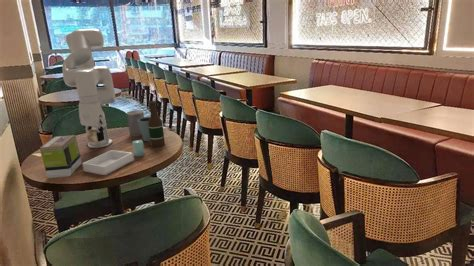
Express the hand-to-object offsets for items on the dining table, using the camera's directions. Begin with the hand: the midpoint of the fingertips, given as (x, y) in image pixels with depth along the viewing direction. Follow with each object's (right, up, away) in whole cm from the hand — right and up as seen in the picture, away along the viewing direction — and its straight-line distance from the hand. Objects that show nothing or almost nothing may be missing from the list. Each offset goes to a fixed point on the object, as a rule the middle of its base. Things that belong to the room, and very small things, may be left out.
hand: (96, 139), depth 146 cm
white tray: (+3, -12, +8) cm, 15 cm away
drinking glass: (+12, -1, +44) cm, 46 cm away
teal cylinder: (+13, -8, +20) cm, 25 cm away
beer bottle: (+19, -4, +33) cm, 39 cm away
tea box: (-17, -15, +6) cm, 23 cm away
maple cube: (0, 0, 0) cm, 0 cm away
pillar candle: (+2, +2, +55) cm, 55 cm away
